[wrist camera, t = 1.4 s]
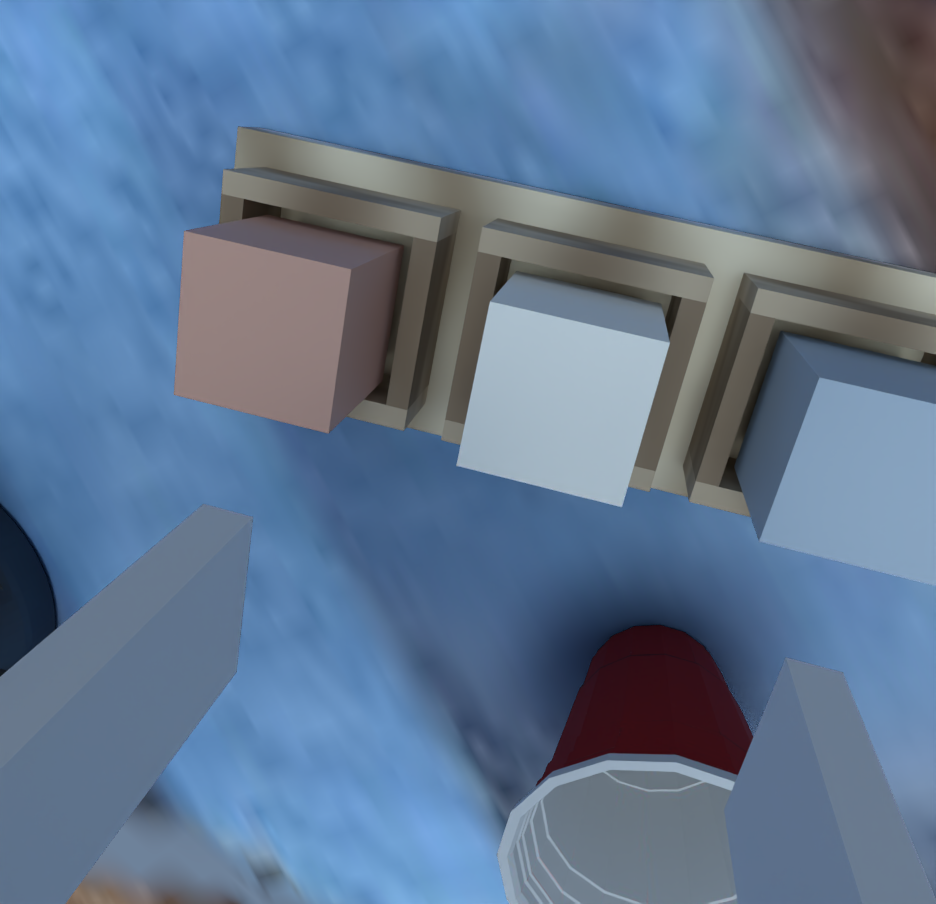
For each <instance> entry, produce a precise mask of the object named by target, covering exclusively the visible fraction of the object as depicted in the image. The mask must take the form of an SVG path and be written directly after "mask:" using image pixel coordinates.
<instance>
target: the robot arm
mask: <svg viewBox="0 0 936 904" xmlns="http://www.w3.org/2000/svg"><path fill="white" fill-rule="evenodd" d="M252 523H253V517H251V516H247V515H243V514H240V513H236V512H232V511H228V510H224V509H221V508H217V507H213V506H209V505H205V504H203V505H202V506H201V507H199V508H198V509H197V510H196V511H195V512H193V513H192V514H191V515H190V516H189V517H188V518H186V519H185V520H184V521H183V522H182V523H181V524H179V525H178V526H177V527H176V528H175V529H173V530H172V531H171V532H170V533H169V534H168V535H166V536H165V537H164V538H163V539H162V540H161V541H159V542H158V543H157V544H156V545H155V546H153V547H152V548H151V549H150V550H149V551H148V552H146V553H145V554H144V555H143V556H142V557H141V558H139V559H138V560H137V561H136V562H135V563H133V564H132V565H131V566H130V567H129V568H128V569H126V570H125V571H124V572H123V573H122V574H121V575H119V576H118V577H117V578H116V579H115V580H113V581H112V582H111V583H110V584H109V585H108V586H106V587H105V588H104V589H103V590H102V591H101V592H99V593H98V594H97V595H96V596H95V597H93V598H92V599H91V600H90V601H89V602H88V603H86V604H85V605H84V606H83V607H82V608H81V609H79V610H78V611H77V612H76V613H75V614H73V615H72V616H71V617H70V618H69V619H68V620H66V621H65V622H64V623H63V624H62V625H61V626H59V627H58V628H57V629H56V630H55V611H54V604H53V599H52V594H51V590H50V587H49V584H48V581H47V578H46V575H45V573H44V570H43V568H42V566H41V563H40V561H39V559H38V557H37V555H36V554H35V552H34V550H33V548H32V547H31V545H30V544H29V542H28V540H27V539H26V537H25V536H24V535H23V533H22V532H21V531H20V529H19V528H18V527H17V525H16V524H15V523H14V522H13V521H12V519H11V518H10V517H9V516H8V515H7V514H6V513H5V512H4V511H3V510H2V509H1V508H0V904H65V903H66V902H67V900H68V899H69V898H70V896H71V895H72V894H73V892H74V891H75V890H76V888H77V887H78V886H79V884H80V883H81V882H82V880H83V879H84V877H85V876H86V875H87V873H88V872H89V871H90V869H91V868H92V867H93V865H94V864H95V863H96V861H97V860H98V859H99V857H100V856H101V854H102V853H103V852H104V850H105V849H106V848H107V846H108V845H109V844H110V842H111V841H112V839H113V838H114V837H115V835H116V834H117V833H118V831H119V830H120V829H121V827H122V826H123V825H124V823H125V822H126V821H127V819H128V818H129V817H130V815H131V814H132V813H133V811H134V810H135V808H136V807H137V806H138V804H139V803H140V802H141V800H142V799H143V798H144V796H145V795H146V794H147V792H148V791H149V790H150V788H151V787H152V785H153V784H154V783H155V781H156V780H157V779H158V777H159V776H160V775H161V773H162V772H163V771H164V769H165V768H166V767H167V765H168V764H169V763H170V761H171V760H172V758H173V757H174V756H175V754H176V753H177V752H178V750H179V749H180V748H181V746H182V745H183V744H184V742H185V741H186V740H187V738H188V737H189V735H190V734H191V733H192V731H193V730H194V729H195V727H196V726H197V725H198V723H199V722H200V721H201V719H202V718H203V717H204V715H205V714H206V712H207V711H208V710H209V708H210V707H211V706H212V704H213V703H214V702H215V700H216V699H217V698H218V696H219V695H220V694H221V692H222V691H223V689H224V688H225V687H226V685H227V684H228V683H229V681H230V680H231V679H232V677H233V676H234V675H235V673H236V672H237V663H238V653H239V644H240V635H241V626H242V616H243V607H244V598H245V588H246V579H247V570H248V560H249V551H250V542H251V532H252ZM724 813H725V820H726V827H727V834H728V840H729V847H730V854H731V861H732V868H733V874H734V881H735V888H736V895H737V902H738V904H936V899H935V896H934V894H933V891H932V889H931V886H930V884H929V882H928V879H927V877H926V874H925V872H924V869H923V867H922V865H921V862H920V860H919V857H918V855H917V852H916V850H915V847H914V845H913V843H912V840H911V838H910V835H909V833H908V830H907V828H906V826H905V823H904V821H903V818H902V816H901V813H900V811H899V808H898V806H897V804H896V801H895V799H894V796H893V794H892V791H891V789H890V787H889V784H888V782H887V779H886V777H885V774H884V772H883V769H882V767H881V765H880V762H879V760H878V757H877V755H876V752H875V750H874V748H873V745H872V743H871V740H870V738H869V735H868V733H867V730H866V728H865V726H864V723H863V721H862V718H861V716H860V713H859V711H858V709H857V706H856V704H855V701H854V699H853V696H852V694H851V691H850V689H849V687H848V684H847V682H846V679H845V677H844V674H843V672H839V671H835V670H831V669H828V668H824V667H820V666H816V665H812V664H809V663H805V662H801V661H797V660H793V659H790V658H785V661H784V663H783V666H782V668H781V671H780V673H779V675H778V678H777V680H776V683H775V685H774V688H773V690H772V693H771V695H770V698H769V700H768V703H767V705H766V708H765V710H764V712H763V715H762V717H761V720H760V722H759V725H758V727H757V730H756V732H755V735H754V737H753V740H752V742H751V744H750V747H749V749H748V752H747V754H746V757H745V759H744V762H743V764H742V767H741V769H740V772H739V774H738V776H737V779H736V781H735V784H734V786H733V789H732V791H731V794H730V796H729V799H728V801H727V804H726V806H725V808H724Z"/></svg>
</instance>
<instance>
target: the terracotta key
mask: <svg viewBox="0 0 936 904" xmlns="http://www.w3.org/2000/svg"><path fill="white" fill-rule="evenodd" d="M403 250H404V245H400V244H396V243H391V242H387V241H382V240H378V239H373V238H369V237H365V236H360V235H356V234H351V233H347V232H343V231H338V230H334V229H329V228H325V227H320V226H316V225H312V224H307V223H303V222H298V221H294V220H290V219H285V218H281V217H276V216H272V215H263V216H258V217H253V218H248V219H243V220H238V221H232V222H227V223H222V224H217V225H212V226H207V227H202V228H197V229H191V230H186V231H184V241H183V257H182V273H181V289H180V305H179V321H178V337H177V353H176V369H175V385H174V395H177V396H181V397H185V398H189V399H193V400H197V401H201V402H205V403H209V404H213V405H217V406H220V407H224V408H228V409H232V410H236V411H240V412H244V413H248V414H252V415H256V416H260V417H264V418H268V419H272V420H276V421H280V422H284V423H288V424H292V425H296V426H300V427H304V428H308V429H312V430H316V431H320V432H324V433H328V434H329V433H330V432H331V431H332V430H333V429H334V428H335V427H336V426H337V425H338V424H339V423H340V422H341V421H342V420H343V419H344V418H345V417H346V416H347V415H348V414H349V413H350V412H351V411H352V410H353V409H354V408H355V407H356V406H357V405H358V404H359V403H361V402H362V401H363V400H364V399H365V398H366V397H367V396H368V395H369V394H370V393H371V392H372V391H373V390H374V389H375V388H376V387H377V386H378V385H379V384H380V383H381V382H382V380H383V374H384V368H385V362H386V355H387V349H388V343H389V337H390V330H391V324H392V318H393V312H394V306H395V299H396V293H397V287H398V281H399V275H400V268H401V262H402V256H403Z"/></svg>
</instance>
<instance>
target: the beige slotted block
mask: <svg viewBox="0 0 936 904" xmlns="http://www.w3.org/2000/svg"><path fill="white" fill-rule="evenodd" d="M263 215H272V216H276V217H281V218H285V219H290V220H294V221H298V222H303V223H307V224H312V225H316V226H320V227H325V228H329V229H334V230H338V231H343V232H347V233H351V234H356V235H360V236H365V237H369V238H373V239H378V240H382V241H387V242H391V243H396V244H400V245H404V250H403V256H402V262H401V268H400V275H399V281H398V287H397V293H396V299H395V306H394V312H393V318H392V324H391V330H390V337H389V343H388V349H387V355H386V362H385V368H384V374H383V380H382V382H381V383H380V384H379V385H378V386H377V387H376V388H375V389H374V390H373V391H372V392H371V393H370V394H369V395H368V396H367V397H366V398H365V399H364V400H363V401H362V402H361V403H359V404H358V405H357V406H356V407H355V408H354V409H353V410H352V411H351V412H350V413H349V414H348V415H347V416H346V417H350V418H354V419H358V420H362V421H366V422H370V423H374V424H378V425H382V426H386V427H390V428H394V429H398V430H402V431H404V430H405V429H406V427H408V428H412V429H416V430H420V431H424V432H428V433H432V434H436V435H440V436H442V438H441V440H443V441H447V442H451V443H455V444H459V445H461V441H462V436H463V431H464V426H465V421H466V416H467V411H468V406H469V401H470V396H471V392H472V387H473V382H474V377H475V372H476V367H477V362H478V357H479V352H480V348H481V343H482V338H483V333H484V328H485V323H486V318H487V313H488V308H489V304H490V301H491V300H492V298H493V297H494V296H495V295H496V294H497V293H498V292H499V290H500V289H501V288H502V287H503V286H504V285H505V284H506V282H507V281H508V280H509V279H510V278H511V277H512V276H513V274H514V273H515V272H516V271H519V272H524V273H528V274H533V275H537V276H541V277H546V278H550V279H555V280H559V281H564V282H568V283H572V284H577V285H581V286H586V287H590V288H594V289H599V290H603V291H608V292H612V293H617V294H621V295H625V296H630V297H634V298H639V299H643V300H648V301H652V302H656V303H661V304H662V309H663V314H664V318H665V323H666V327H667V332H668V336H669V341H670V344H669V348H668V351H667V355H666V358H665V361H664V365H663V368H662V372H661V375H660V379H659V382H658V385H657V389H656V392H655V396H654V399H653V402H652V406H651V409H650V413H649V416H648V420H647V423H646V426H645V430H644V433H643V437H642V440H641V444H640V447H639V450H638V454H637V457H636V461H635V464H634V468H633V471H632V474H631V478H630V481H629V485H628V487H632V488H636V489H640V490H644V491H648V492H650V489H651V488H654V489H658V490H662V491H666V492H670V493H674V494H678V495H682V496H686V497H688V499H689V502H692V503H696V504H700V505H704V506H708V507H712V508H716V509H720V510H724V511H729V512H733V513H737V514H741V515H745V516H749V517H751V516H750V513H749V510H748V507H747V504H746V501H745V498H744V495H743V492H742V489H741V486H740V483H739V480H738V477H737V474H736V471H735V468H734V466H735V463H736V460H737V457H738V454H739V451H740V448H741V445H742V442H743V439H744V437H745V434H746V431H747V428H748V425H749V422H750V419H751V416H752V413H753V410H754V407H755V404H756V401H757V399H758V396H759V393H760V390H761V387H762V384H763V381H764V378H765V375H766V372H767V369H768V366H769V363H770V360H771V358H772V355H773V352H774V349H775V346H776V343H777V340H778V337H779V334H780V331H785V332H789V333H793V334H798V335H802V336H807V337H811V338H815V339H820V340H824V341H829V342H833V343H838V344H842V345H846V346H851V347H855V348H860V349H864V350H868V351H873V352H877V353H882V354H886V355H891V356H895V357H899V358H904V359H908V360H913V361H917V362H922V363H926V364H930V365H935V366H936V274H935V273H931V272H926V271H921V270H917V269H912V268H907V267H903V266H898V265H894V264H889V263H884V262H880V261H875V260H870V259H866V258H861V257H857V256H852V255H847V254H843V253H838V252H833V251H829V250H824V249H819V248H815V247H810V246H806V245H801V244H796V243H792V242H787V241H782V240H778V239H773V238H769V237H764V236H759V235H755V234H750V233H745V232H741V231H736V230H731V229H727V228H722V227H718V226H713V225H708V224H704V223H699V222H694V221H690V220H685V219H681V218H676V217H671V216H667V215H662V214H657V213H653V212H648V211H643V210H639V209H634V208H630V207H625V206H620V205H616V204H611V203H606V202H602V201H597V200H593V199H588V198H583V197H579V196H574V195H569V194H565V193H560V192H556V191H551V190H546V189H542V188H537V187H532V186H528V185H523V184H518V183H514V182H509V181H505V180H500V179H495V178H491V177H486V176H481V175H477V174H472V173H468V172H463V171H458V170H454V169H449V168H444V167H440V166H435V165H430V164H426V163H421V162H417V161H412V160H407V159H403V158H398V157H393V156H389V155H384V154H380V153H375V152H370V151H366V150H361V149H356V148H352V147H347V146H342V145H338V144H333V143H329V142H324V141H319V140H315V139H310V138H305V137H301V136H296V135H292V134H287V133H282V132H278V131H273V130H268V129H264V128H257V127H238V131H237V143H236V155H235V167H234V169H223V182H222V194H221V207H220V220H219V224H222V223H227V222H232V221H238V220H243V219H248V218H253V217H258V216H263Z"/></svg>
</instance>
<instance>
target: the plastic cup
mask: <svg viewBox="0 0 936 904" xmlns="http://www.w3.org/2000/svg"><path fill="white" fill-rule="evenodd" d="M752 740H753V735H752V733H751V731H750V729H749V726H748V724H747V722H746V720H745V718H744V715H743V713H742V711H741V709H740V707H739V706H738V704H737V702H736V701H735V699H734V697H733V696H732V694H731V692H730V691H729V689H728V686H727V684H726V682H725V680H724V678H723V676H722V673H721V672H720V670H719V668H718V667H717V665H716V663H715V662H714V660H713V658H712V657H711V655H710V653H709V652H708V651H706V649H705V648H704V646H703V645H701V644H700V643H698V642H697V641H696V640H694V639H693V638H692V637H690V636H689V635H688V634H686V633H685V632H682V631H679V630H675V629H672V628H669V627H665V626H662V625H650V626H634V627H632V628H629V629H627V630H625V631H622V632H620V633H618V634H615V635H613V636H612V637H611V638H610V639H609V640H608V641H607V642H606V643H605V644H604V645H603V646H602V647H601V648H600V649H599V650H598V651H597V654H596V655H595V656H594V657H593V658H592V661H591V664H590V667H589V670H588V673H587V676H586V679H585V681H584V684H583V685H582V686H581V687H580V689H579V691H578V694H577V696H576V699H575V702H574V704H573V707H572V709H571V712H570V715H569V717H568V720H567V722H566V725H565V728H564V730H563V733H562V735H561V738H560V741H559V743H558V746H557V748H556V751H555V754H554V756H553V759H552V761H551V762H550V763H548V765H547V767H546V770H545V772H544V774H543V777H542V778H541V779H540V780H539V781H538V782H537V784H536V787H535V788H534V789H533V790H531V791H530V792H529V793H528V794H527V795H526V796H525V797H524V798H522V799H521V800H520V801H519V802H518V803H517V804H516V805H515V807H514V808H513V810H512V811H511V813H510V816H509V819H508V822H507V825H506V828H505V831H504V834H503V837H502V840H501V843H500V847H499V850H498V853H497V857H498V862H499V866H500V871H501V875H502V880H503V885H504V889H505V894H506V898H507V900H508V902H509V903H510V904H738V902H737V895H736V888H735V881H734V874H733V868H732V861H731V854H730V847H729V840H728V834H727V827H726V820H725V813H724V808H725V806H726V804H727V801H728V799H729V796H730V794H731V791H732V789H733V786H734V784H735V781H736V779H737V776H738V774H739V772H740V769H741V767H742V764H743V762H744V759H745V757H746V754H747V752H748V749H749V747H750V744H751V742H752Z"/></svg>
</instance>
